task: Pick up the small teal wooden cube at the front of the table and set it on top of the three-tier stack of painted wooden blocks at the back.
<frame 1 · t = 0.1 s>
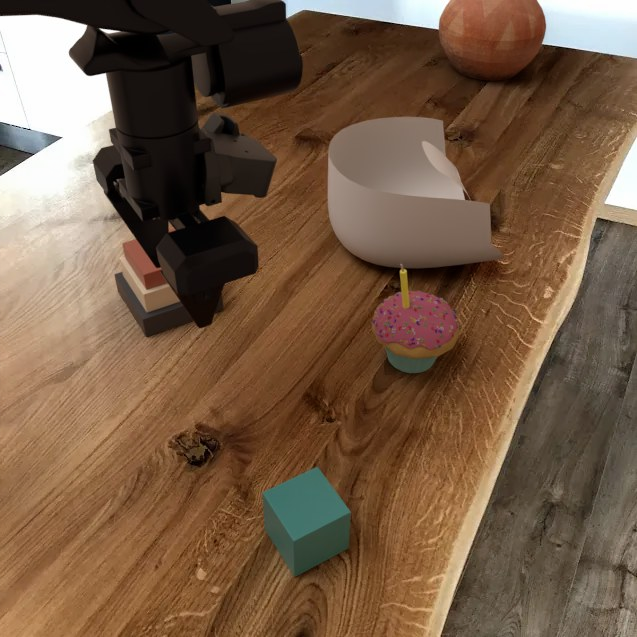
hand: (182, 294, 61), 13 cm above the table, tool pointing down, fingers open, 9 cm apart
stack: (169, 300, 82), on the table
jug: (484, 70, 134), on the table
cupcake: (411, 358, 75), on the table
bowl: (403, 239, 92), on the table
toy cube: (306, 538, 59), on the table
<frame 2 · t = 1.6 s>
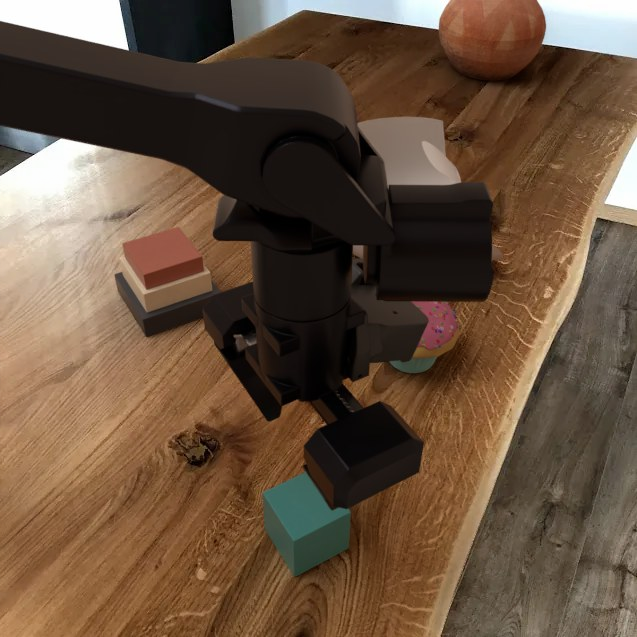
hand: (303, 459, 53), 10 cm above the table, tool pointing down, fingers open, 9 cm apart
nothing on the table moved.
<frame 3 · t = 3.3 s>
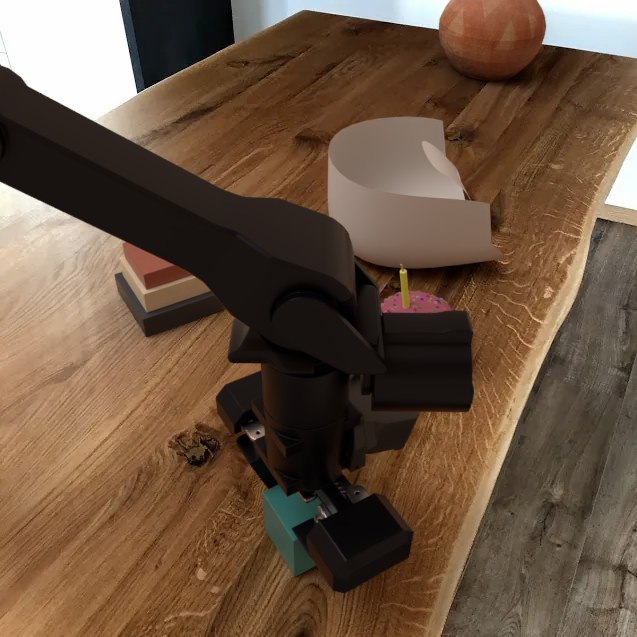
hand: (306, 531, 58), 1 cm above the table, tool pointing down, fingers closed on toy cube, 5 cm apart
toy cube: (306, 538, 59), on the table, touching gripper
everything else where it was.
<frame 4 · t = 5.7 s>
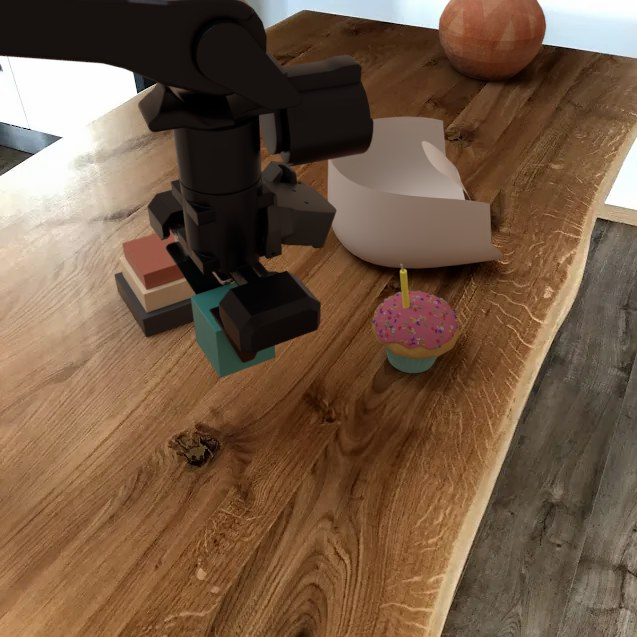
hand: (234, 341, 61), 11 cm above the table, tool pointing down, fingers closed on toy cube, 5 cm apart
toy cube: (235, 349, 61), point 10 cm above the table, touching gripper
everything else where it was.
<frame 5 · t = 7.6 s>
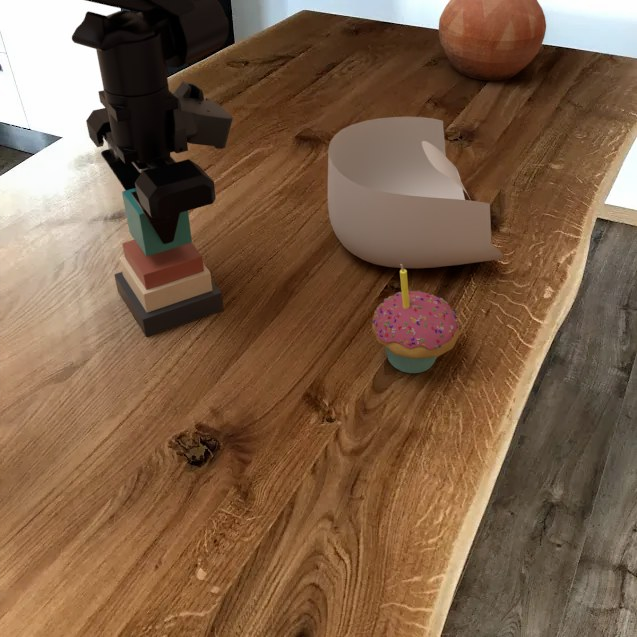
hand: (158, 229, 76), 9 cm above the table, tool pointing down, fingers closed on toy cube, 5 cm apart
toy cube: (160, 237, 76), point 8 cm above the table, touching gripper
everything else where it was.
when the fingers open (8 cm above the table, at t = 8.5 s): toy cube stays where it is, resting on stack.
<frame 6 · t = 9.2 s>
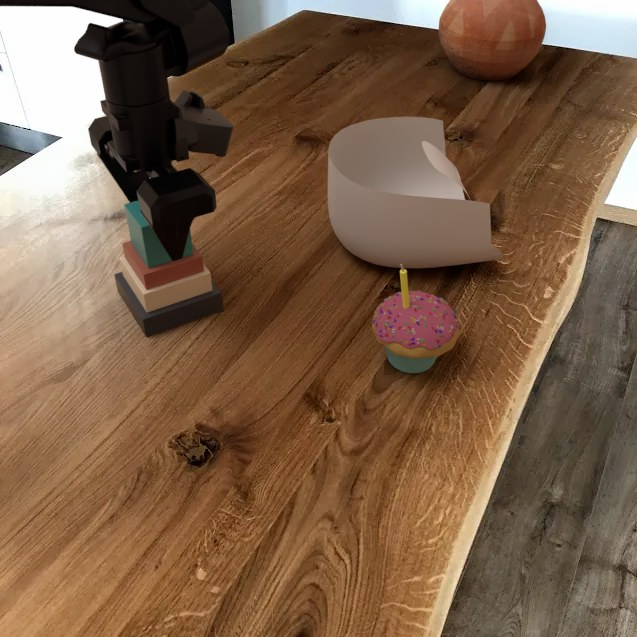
hand: (160, 236, 76), 9 cm above the table, tool pointing down, fingers open, 9 cm apart
toy cube: (162, 249, 77), point 7 cm above the table, touching stack
everything else where it was.
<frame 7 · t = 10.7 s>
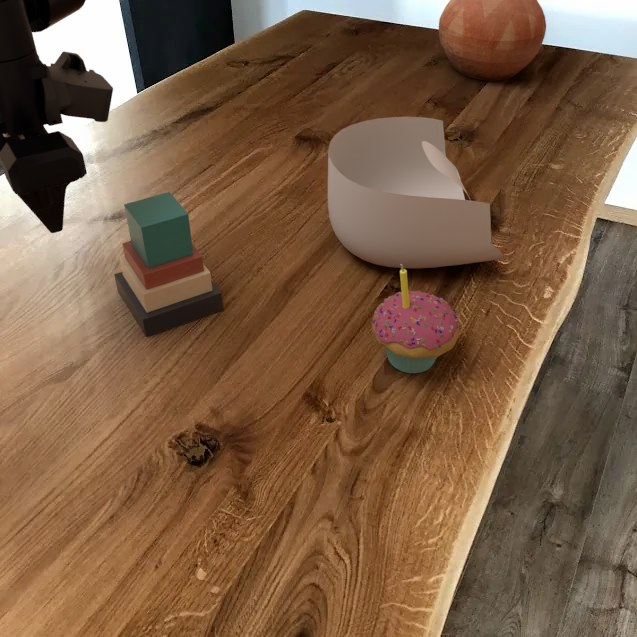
hand: (43, 208, 72), 13 cm above the table, tool pointing down, fingers open, 9 cm apart
nothing on the table moved.
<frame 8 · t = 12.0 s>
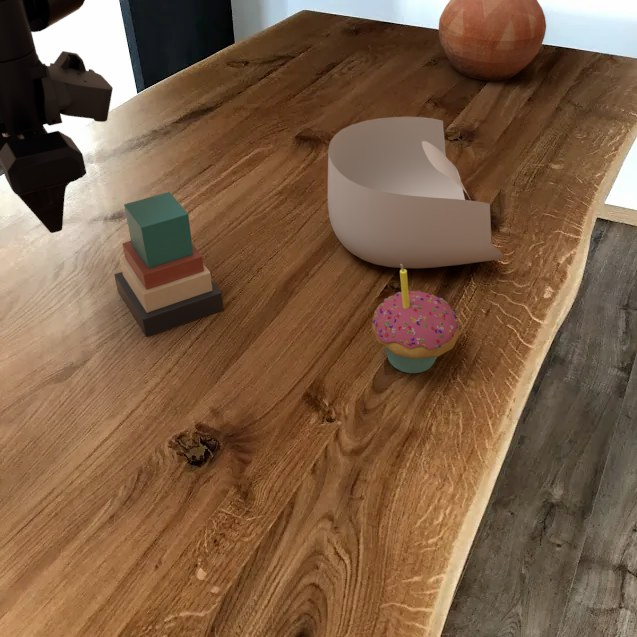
hand: (43, 208, 72), 13 cm above the table, tool pointing down, fingers open, 9 cm apart
nothing on the table moved.
at the end: toy cube 0.0 cm off-centre on the stack, point 7.0 cm above the stack's base; toy cube tilted 0°; the gripper is holding nothing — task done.
